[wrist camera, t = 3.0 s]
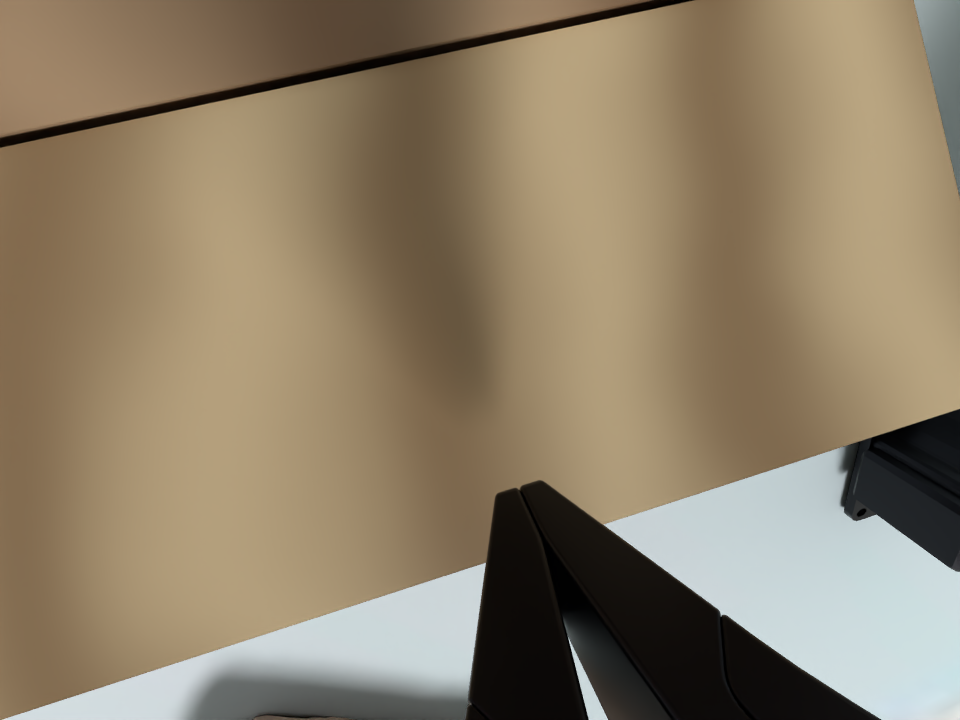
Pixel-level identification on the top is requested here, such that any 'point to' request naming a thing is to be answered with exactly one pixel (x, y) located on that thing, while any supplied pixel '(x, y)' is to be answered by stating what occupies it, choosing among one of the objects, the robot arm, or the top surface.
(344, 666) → the top surface
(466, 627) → the top surface
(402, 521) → the oak plank
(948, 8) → the top surface
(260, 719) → the brick
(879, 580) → the top surface
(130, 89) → the floor base
